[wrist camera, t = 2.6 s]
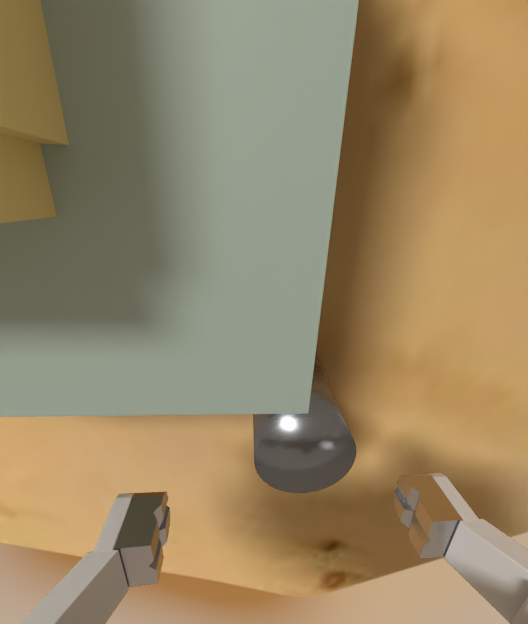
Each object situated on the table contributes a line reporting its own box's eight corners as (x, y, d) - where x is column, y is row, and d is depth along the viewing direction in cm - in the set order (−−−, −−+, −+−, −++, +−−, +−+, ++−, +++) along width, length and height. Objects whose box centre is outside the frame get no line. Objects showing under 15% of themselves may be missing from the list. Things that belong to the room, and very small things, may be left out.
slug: (323, 340, 16) (364, 417, 10) (315, 397, 17) (347, 491, 12) (252, 339, 16) (255, 418, 10) (251, 398, 17) (253, 494, 12)
